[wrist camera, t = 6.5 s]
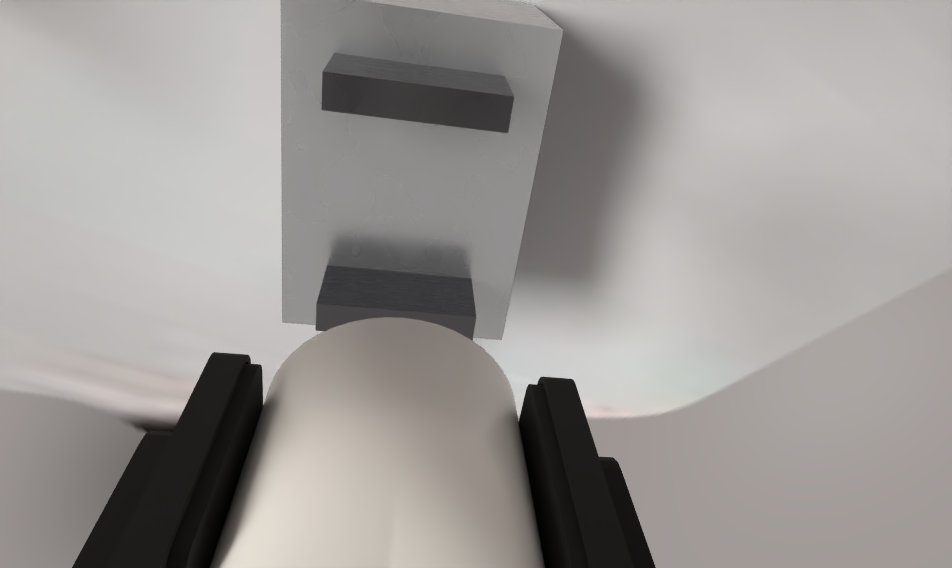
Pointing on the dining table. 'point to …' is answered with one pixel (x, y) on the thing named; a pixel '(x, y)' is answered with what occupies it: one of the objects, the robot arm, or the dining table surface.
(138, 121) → the dining table surface
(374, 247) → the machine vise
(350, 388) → the bottle
